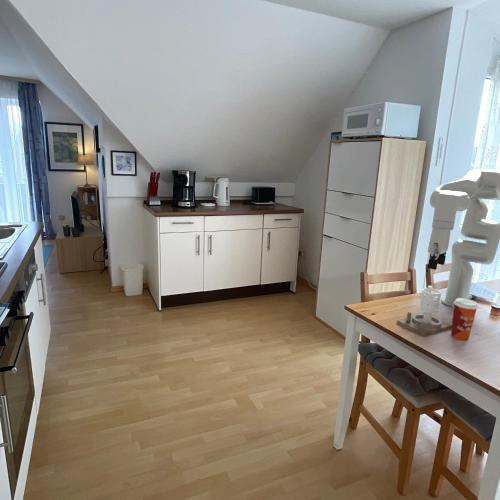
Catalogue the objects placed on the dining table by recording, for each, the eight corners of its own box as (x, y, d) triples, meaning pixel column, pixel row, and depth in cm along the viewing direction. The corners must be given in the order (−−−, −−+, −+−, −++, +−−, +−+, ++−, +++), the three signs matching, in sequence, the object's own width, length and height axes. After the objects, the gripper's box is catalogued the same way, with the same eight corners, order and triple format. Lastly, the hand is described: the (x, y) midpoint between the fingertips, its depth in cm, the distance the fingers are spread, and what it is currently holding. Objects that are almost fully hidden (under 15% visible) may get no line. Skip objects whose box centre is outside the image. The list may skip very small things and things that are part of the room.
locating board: (427, 315, 162) (429, 303, 161) (455, 327, 151) (457, 315, 150) (396, 323, 153) (398, 311, 151) (424, 336, 142) (426, 323, 140)
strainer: (433, 319, 154) (438, 286, 151) (438, 326, 148) (444, 291, 144) (415, 317, 155) (420, 284, 152) (419, 324, 149) (425, 290, 145)
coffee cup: (459, 343, 137) (466, 306, 134) (442, 333, 145) (449, 298, 141) (476, 340, 140) (484, 304, 136) (459, 331, 147) (466, 296, 144)
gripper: (439, 221, 150) (433, 260, 154) (425, 225, 138) (418, 268, 142) (459, 223, 145) (452, 264, 149) (446, 228, 133) (439, 273, 137)
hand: (436, 266), depth 146 cm, fingers open, 9 cm apart
